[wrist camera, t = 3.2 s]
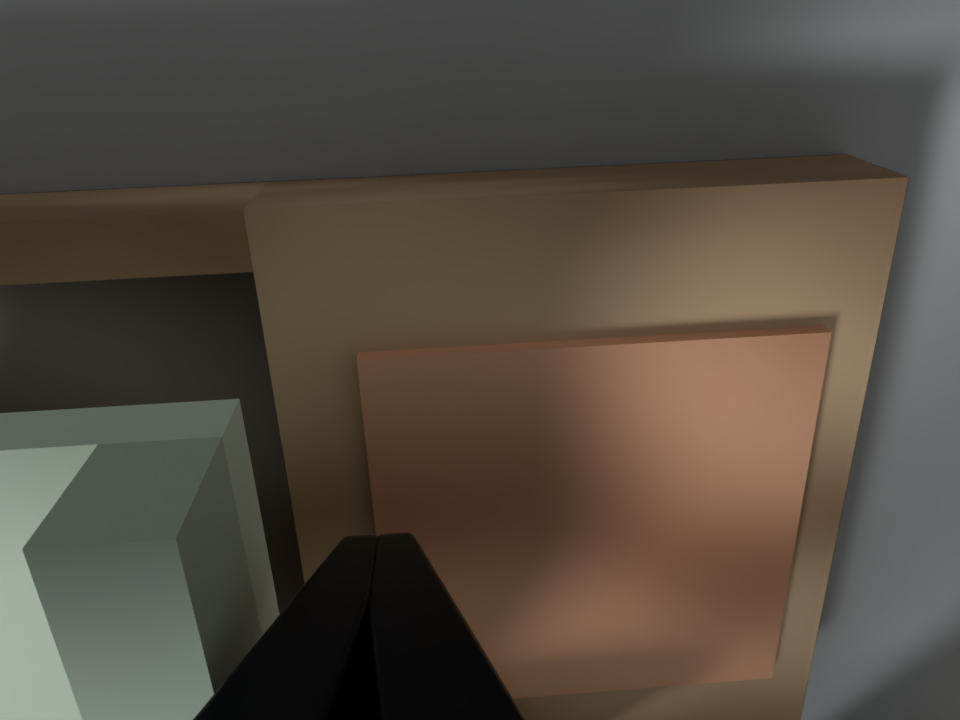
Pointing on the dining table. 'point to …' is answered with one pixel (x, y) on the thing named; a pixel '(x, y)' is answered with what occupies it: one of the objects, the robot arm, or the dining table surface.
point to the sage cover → (127, 560)
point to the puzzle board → (509, 392)
